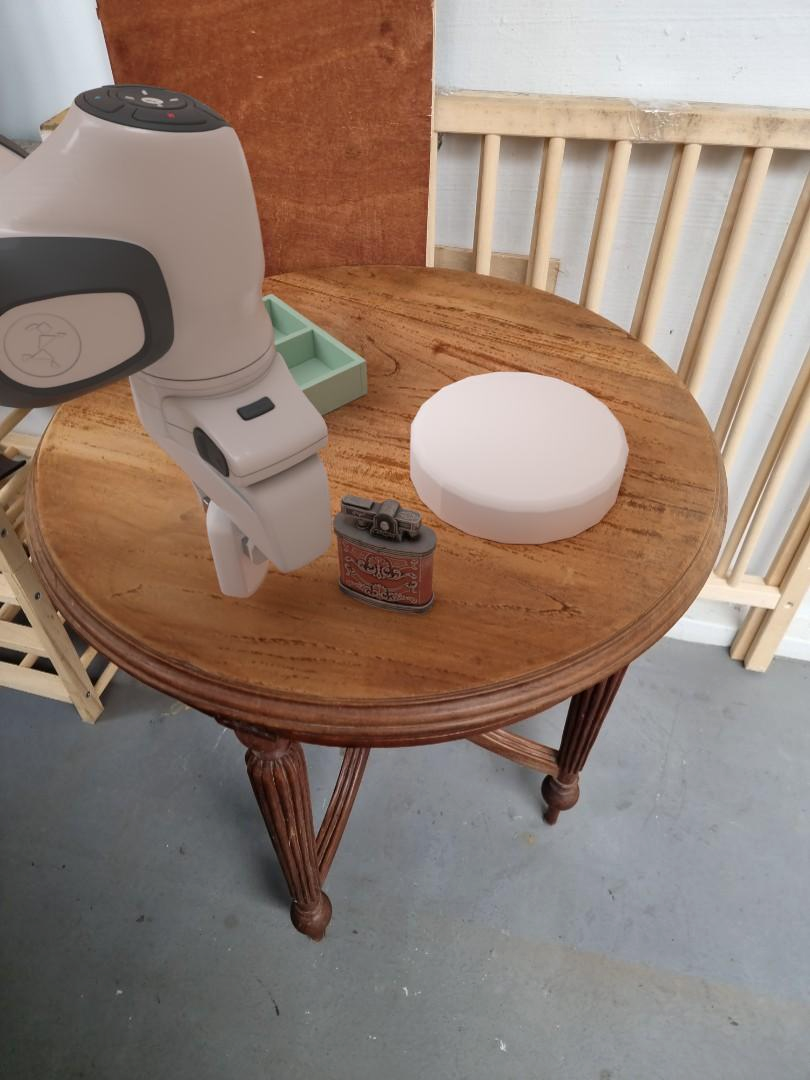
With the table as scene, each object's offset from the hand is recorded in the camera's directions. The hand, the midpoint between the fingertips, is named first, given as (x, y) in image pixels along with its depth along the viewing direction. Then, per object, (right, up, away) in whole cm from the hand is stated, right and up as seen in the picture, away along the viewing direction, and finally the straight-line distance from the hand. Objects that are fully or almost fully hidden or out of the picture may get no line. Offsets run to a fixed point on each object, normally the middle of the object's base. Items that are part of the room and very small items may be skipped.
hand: (238, 533), depth 58 cm
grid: (-4, +16, +24) cm, 29 cm away
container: (+23, +6, +16) cm, 28 cm away
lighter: (+11, -5, +5) cm, 13 cm away
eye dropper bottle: (0, -3, +4) cm, 5 cm away
